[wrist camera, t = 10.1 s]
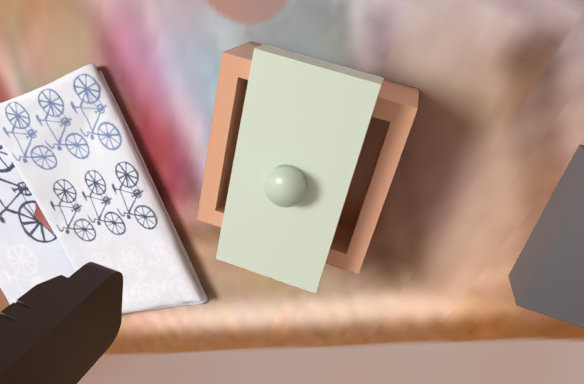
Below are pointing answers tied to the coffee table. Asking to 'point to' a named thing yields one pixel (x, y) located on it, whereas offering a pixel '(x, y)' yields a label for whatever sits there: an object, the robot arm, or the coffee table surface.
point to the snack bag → (84, 197)
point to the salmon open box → (368, 173)
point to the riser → (556, 253)
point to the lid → (294, 163)
